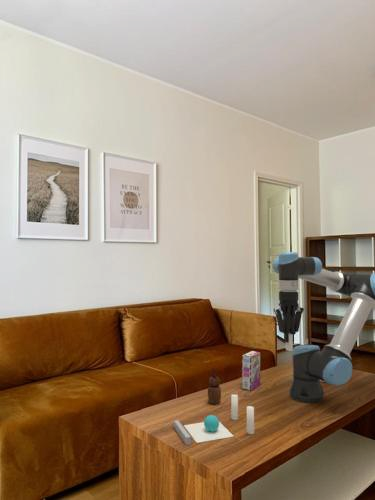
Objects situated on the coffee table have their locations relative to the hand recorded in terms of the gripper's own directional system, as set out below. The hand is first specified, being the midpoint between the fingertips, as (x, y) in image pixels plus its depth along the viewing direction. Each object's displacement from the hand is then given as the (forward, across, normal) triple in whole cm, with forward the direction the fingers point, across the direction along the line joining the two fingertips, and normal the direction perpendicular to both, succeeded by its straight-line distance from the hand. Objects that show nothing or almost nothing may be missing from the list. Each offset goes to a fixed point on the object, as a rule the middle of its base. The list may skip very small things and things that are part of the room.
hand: (289, 350), depth 148 cm
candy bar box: (+27, +3, +36) cm, 45 cm away
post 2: (+26, -21, -6) cm, 34 cm away
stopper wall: (+26, -45, 0) cm, 52 cm away
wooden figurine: (+27, -22, +24) cm, 42 cm away
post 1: (+26, -21, +6) cm, 34 cm away
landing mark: (+26, -35, 0) cm, 44 cm away
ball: (+24, -34, 0) cm, 41 cm away
